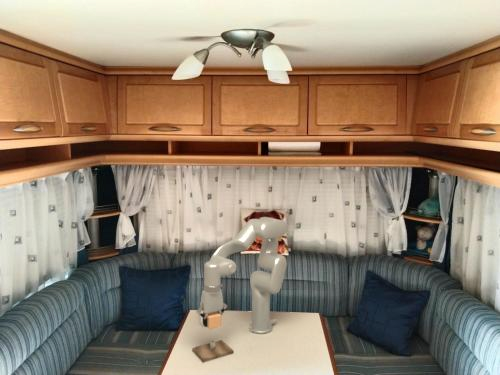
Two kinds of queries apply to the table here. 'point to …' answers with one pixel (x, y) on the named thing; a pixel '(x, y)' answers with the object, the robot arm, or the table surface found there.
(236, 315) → the table surface
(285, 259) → the robot arm
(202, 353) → the base plate
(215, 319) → the light orange cube
